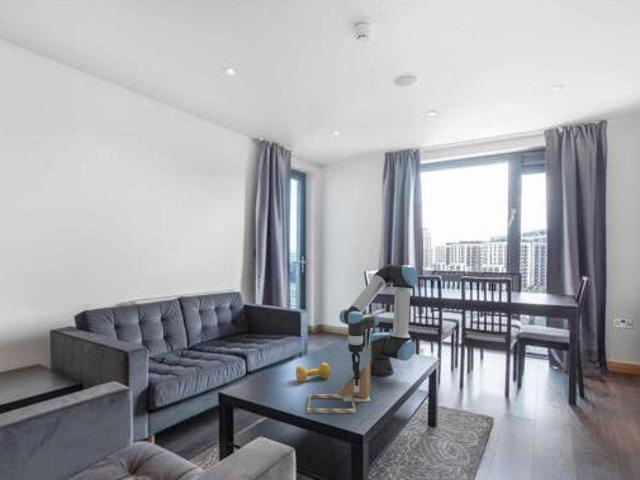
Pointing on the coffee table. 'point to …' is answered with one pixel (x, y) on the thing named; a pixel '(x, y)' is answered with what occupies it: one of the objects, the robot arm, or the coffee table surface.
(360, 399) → the grey pad
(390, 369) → the robot arm
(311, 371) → the dumbbell
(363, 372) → the sandwich container
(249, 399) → the coffee table surface
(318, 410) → the birch frame
